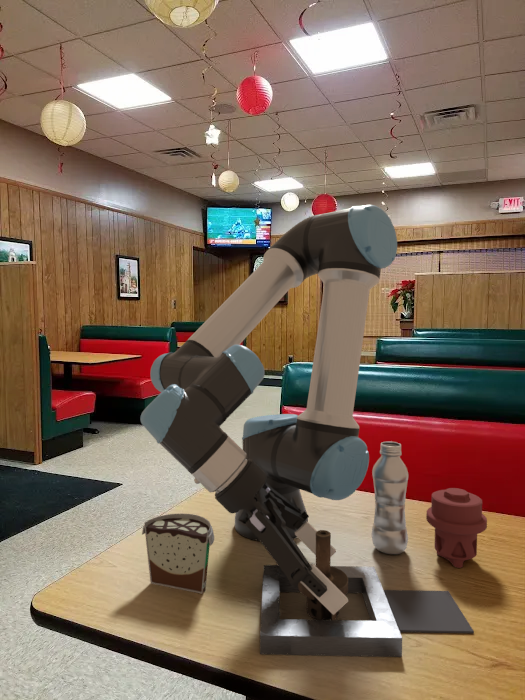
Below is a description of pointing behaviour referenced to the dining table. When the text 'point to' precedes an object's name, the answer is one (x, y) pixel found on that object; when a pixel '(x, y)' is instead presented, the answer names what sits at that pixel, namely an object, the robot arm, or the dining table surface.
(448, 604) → the rubber mat
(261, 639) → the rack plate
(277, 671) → the dining table surface
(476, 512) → the mechanical component
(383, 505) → the plastic bottle
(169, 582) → the food container
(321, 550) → the industrial component
